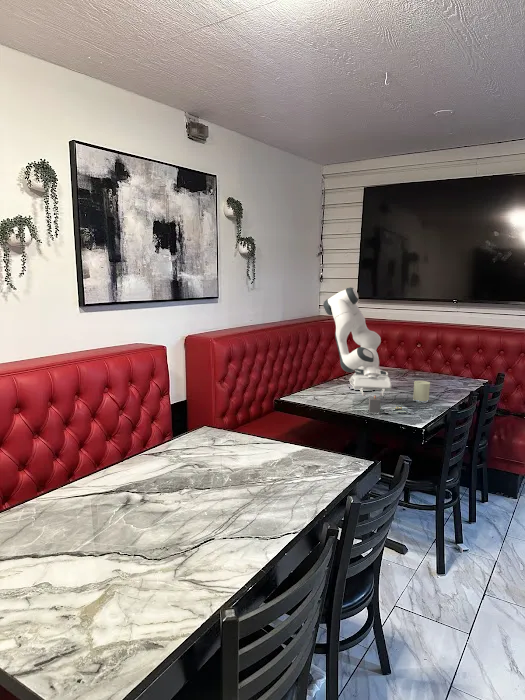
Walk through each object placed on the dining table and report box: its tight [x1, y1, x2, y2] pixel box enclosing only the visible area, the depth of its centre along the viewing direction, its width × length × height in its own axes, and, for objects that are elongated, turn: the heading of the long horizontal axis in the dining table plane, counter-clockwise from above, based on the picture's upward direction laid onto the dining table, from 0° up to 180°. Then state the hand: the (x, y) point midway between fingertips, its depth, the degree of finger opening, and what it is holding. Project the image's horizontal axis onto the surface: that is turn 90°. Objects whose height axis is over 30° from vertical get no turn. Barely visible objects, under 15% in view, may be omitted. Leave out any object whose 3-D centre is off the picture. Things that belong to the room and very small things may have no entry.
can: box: [412, 380, 431, 401], centre depth 270 cm, size 9×9×12 cm
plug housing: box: [367, 395, 382, 413], centre depth 245 cm, size 4×6×10 cm
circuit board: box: [391, 404, 406, 413], centre depth 252 cm, size 17×15×3 cm
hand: (372, 396), depth 248 cm, fingers open, 8 cm apart
